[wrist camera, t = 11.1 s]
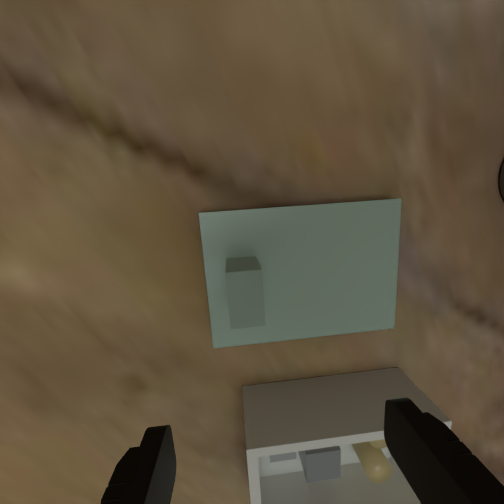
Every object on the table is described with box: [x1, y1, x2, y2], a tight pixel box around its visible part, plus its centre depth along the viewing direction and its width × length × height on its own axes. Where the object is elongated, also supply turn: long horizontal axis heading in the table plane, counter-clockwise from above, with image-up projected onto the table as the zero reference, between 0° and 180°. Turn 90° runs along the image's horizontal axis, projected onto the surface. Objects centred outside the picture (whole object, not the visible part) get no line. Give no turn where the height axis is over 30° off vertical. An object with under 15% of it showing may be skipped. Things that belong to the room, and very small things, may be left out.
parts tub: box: [242, 367, 452, 504], centre depth 29 cm, size 20×14×8 cm
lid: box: [199, 199, 402, 348], centre depth 25 cm, size 20×14×8 cm
